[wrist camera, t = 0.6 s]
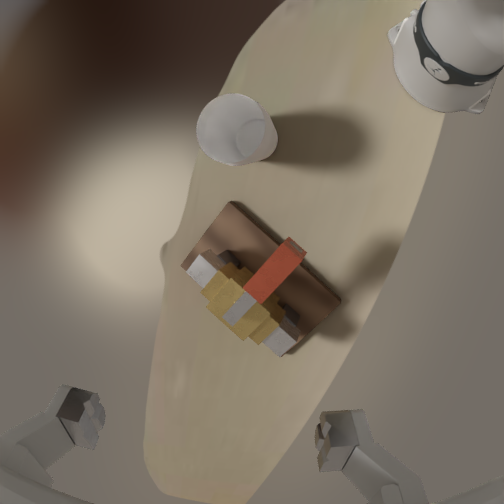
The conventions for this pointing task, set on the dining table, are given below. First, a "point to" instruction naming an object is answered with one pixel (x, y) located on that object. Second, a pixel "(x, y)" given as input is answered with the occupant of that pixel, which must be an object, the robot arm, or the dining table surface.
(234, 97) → the cup
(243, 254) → the board
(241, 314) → the lever
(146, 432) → the dining table surface
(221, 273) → the valve
